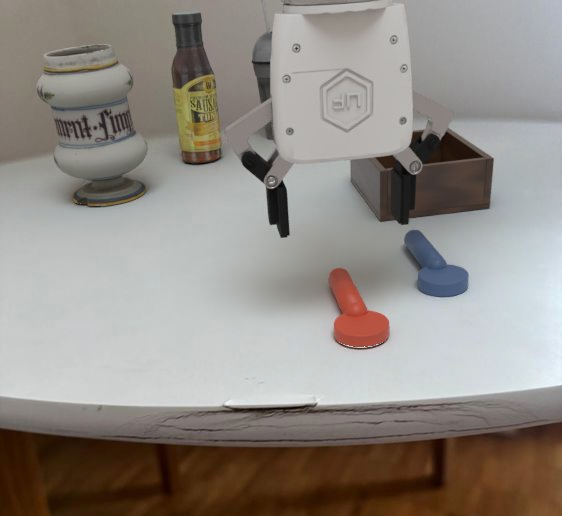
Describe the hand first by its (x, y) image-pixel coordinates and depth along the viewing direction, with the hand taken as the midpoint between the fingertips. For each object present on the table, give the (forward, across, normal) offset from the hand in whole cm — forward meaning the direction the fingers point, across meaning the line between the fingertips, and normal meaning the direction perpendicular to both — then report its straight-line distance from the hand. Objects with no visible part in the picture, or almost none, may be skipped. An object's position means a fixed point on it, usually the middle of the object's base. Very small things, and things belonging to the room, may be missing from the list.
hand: (341, 225), depth 56 cm
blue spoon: (+7, +9, +5) cm, 13 cm away
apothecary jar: (+8, -24, +41) cm, 48 cm away
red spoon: (+7, 0, -2) cm, 8 cm away
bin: (+7, +14, +27) cm, 32 cm away
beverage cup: (+7, +2, +63) cm, 64 cm away
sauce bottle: (+7, -11, +54) cm, 56 cm away
